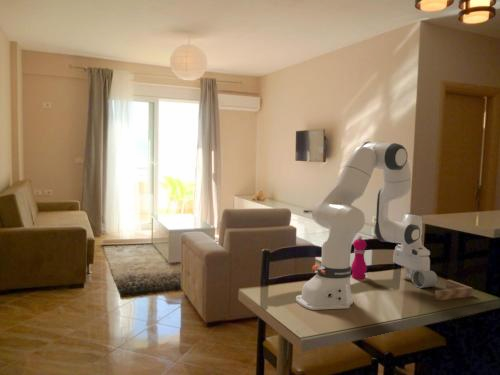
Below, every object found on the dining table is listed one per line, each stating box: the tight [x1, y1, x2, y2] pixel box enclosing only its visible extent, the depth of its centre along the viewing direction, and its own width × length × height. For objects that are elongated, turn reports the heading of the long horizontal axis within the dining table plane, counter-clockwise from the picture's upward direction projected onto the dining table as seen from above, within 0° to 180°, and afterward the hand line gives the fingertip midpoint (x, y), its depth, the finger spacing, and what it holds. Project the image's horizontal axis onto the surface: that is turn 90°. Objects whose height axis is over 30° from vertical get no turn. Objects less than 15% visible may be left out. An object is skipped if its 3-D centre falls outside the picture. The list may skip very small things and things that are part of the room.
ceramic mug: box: [411, 270, 439, 289], centre depth 183 cm, size 11×8×8 cm
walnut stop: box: [434, 279, 474, 301], centre depth 173 cm, size 18×12×4 cm, turn 110°
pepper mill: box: [350, 235, 368, 280], centre depth 194 cm, size 7×7×20 cm
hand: (409, 277), depth 190 cm, fingers closed
